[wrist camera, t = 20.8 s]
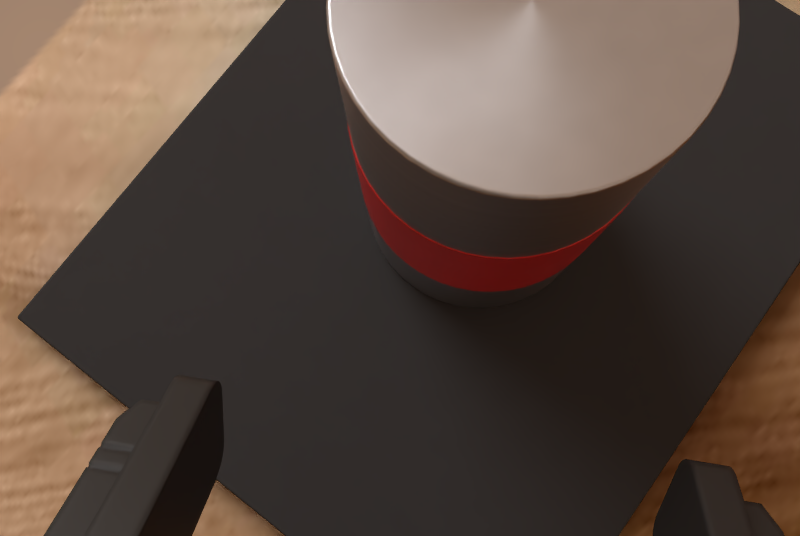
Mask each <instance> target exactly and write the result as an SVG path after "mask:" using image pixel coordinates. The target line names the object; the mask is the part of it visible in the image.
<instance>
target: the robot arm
mask: <svg viewBox="0 0 800 536" xmlns="http://www.w3.org/2000/svg"><path fill="white" fill-rule="evenodd" d="M223 451H224V423H223V400H222V386H221V383H220V382H219V381H215V380H209V379H202V378H196V377H190V376H184V375H177V376H175V377H174V378H173V380H172V381H171V383H170V385H169V387H168V388H167V390H166V392H165V394H164V395H163V397H162V399H161V401H160V402H155V401H149V400H143V399H141V400H140V401H138V402H137V403H136V404H134V405H133V406H132V407H131V408H129V409H128V410H127V411H125V412H124V413H123V414H122V415H120V416H119V417H118V418H117V419H116V420H115V422H114V423H113V425H112V427H111V428H110V430H109V431H108V433H107V435H106V436H105V438H104V439H103V441H102V445H101V447H99V448H98V449H97V451H96V452H95V454H94V456H93V457H92V459H91V460H90V462H89V467H88V468H87V467H86V468H85V470H84V472H83V473H82V475H81V477H80V478H79V480H78V481H77V483H76V485H75V486H74V488H73V489H72V491H71V493H70V494H69V496H68V497H67V499H66V501H65V502H64V504H63V506H62V507H61V509H60V510H59V512H58V514H57V515H56V517H55V518H54V520H53V522H52V523H51V525H50V526H49V528H48V530H47V531H46V533H45V534H44V536H192V534H193V532H194V530H195V527H196V525H197V523H198V520H199V518H200V516H201V513H202V511H203V509H204V506H205V504H206V502H207V499H208V497H209V495H210V492H211V490H212V487H213V485H214V483H215V480H216V478H217V475H218V473H219V469H220V466H221V462H222V457H223ZM653 536H784V534H783V531H782V530H781V529H780V528H779V526H778V525H777V524H776V522H775V521H774V520H773V519H772V517H771V516H770V515H769V513H768V512H767V511H766V510H765V508H764V507H763V506H762V504H759V503H753V502H747V501H744V499H743V496H742V493H741V490H740V486H739V483H738V480H737V477H736V474H735V472H734V470H733V469H732V468H731V467H729V466H724V465H718V464H711V463H705V462H699V461H693V460H687V459H684V460H683V461H681V463H680V464H679V466H678V468H677V470H676V473H675V475H674V477H673V479H672V482H671V484H670V486H669V489H668V491H667V493H666V495H665V498H664V500H663V502H662V504H661V507H660V509H659V511H658V513H657V516H656V519H655V523H654V529H653Z"/></svg>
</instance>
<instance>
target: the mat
mask: <svg viewBox="0 0 800 536" xmlns="http://www.w3.org/2000/svg"><path fill="white" fill-rule="evenodd" d="M326 2H327V0H285V2H284V3H283V4H282V5H281V6H280V8H279V9H278V10H277V11H276V12H275V13H274V15H273V16H272V17H271V18H270V19H269V21H268V22H267V23H266V24H265V25H264V26H263V28H262V29H261V30H260V31H259V32H258V34H257V35H256V36H255V37H254V38H253V39H252V41H251V42H250V43H249V44H248V45H247V47H246V48H245V49H244V50H243V51H242V52H241V54H240V55H239V56H238V57H237V58H236V60H235V61H234V62H233V63H232V64H231V65H230V67H229V68H228V69H227V70H226V71H225V72H224V74H223V75H222V76H221V77H220V78H219V80H218V81H217V82H216V83H215V84H214V85H213V87H212V88H211V89H210V90H209V91H208V93H207V94H206V95H205V96H204V97H203V98H202V100H201V101H200V102H199V103H198V104H197V106H196V107H195V108H194V109H193V110H192V111H191V113H190V114H189V115H188V116H187V117H186V119H185V120H184V121H183V122H182V123H181V124H180V126H179V127H178V128H177V129H176V130H175V131H174V133H173V134H172V135H171V136H170V137H169V139H168V140H167V141H166V142H165V143H164V144H163V146H162V147H161V148H160V149H159V150H158V152H157V153H156V154H155V155H154V156H153V157H152V159H151V160H150V161H149V162H148V163H147V165H146V166H145V167H144V168H143V169H142V170H141V172H140V173H139V174H138V175H137V176H136V178H135V179H134V180H133V181H132V182H131V183H130V185H129V186H128V187H127V188H126V189H125V191H124V192H123V193H122V194H121V195H120V196H119V198H118V199H117V200H116V201H115V202H114V203H113V205H112V206H111V207H110V208H109V209H108V211H107V212H106V213H105V214H104V215H103V216H102V218H101V219H100V220H99V221H98V222H97V224H96V225H95V226H94V227H93V228H92V229H91V231H90V232H89V233H88V234H87V235H86V237H85V238H84V239H83V240H82V241H81V242H80V244H79V245H78V246H77V247H76V248H75V250H74V251H73V252H72V253H71V254H70V255H69V257H68V258H67V259H66V260H65V261H64V262H63V264H62V265H61V266H60V267H59V268H58V270H57V271H56V272H55V273H54V274H53V275H52V277H51V278H50V279H49V280H48V281H47V283H46V284H45V285H44V286H43V287H42V288H41V290H40V291H39V292H38V293H37V294H36V296H35V297H34V298H33V299H32V300H31V301H30V303H29V304H28V305H27V306H26V307H25V309H24V310H23V311H22V312H21V313H20V314H19V316H18V319H19V320H20V321H22V322H23V323H24V324H25V325H27V326H28V327H29V328H30V329H32V330H33V331H34V332H35V333H36V334H38V335H39V336H40V337H41V338H43V339H44V340H45V341H46V342H48V343H49V344H50V345H51V346H52V347H54V348H55V349H56V350H57V351H59V352H60V353H61V354H62V355H64V356H65V357H66V358H67V359H68V360H70V361H71V362H72V363H73V364H75V365H76V366H77V367H78V368H80V369H81V370H82V371H83V372H85V373H86V374H87V375H88V376H89V377H91V378H92V379H93V380H94V381H96V382H97V383H98V384H99V385H101V386H102V387H103V388H104V389H105V390H107V391H108V392H109V393H110V394H112V395H113V396H114V397H115V398H117V399H118V400H119V401H120V402H121V403H123V404H124V405H125V406H126V407H128V408H131V407H132V406H133V405H134V404H136V403H137V402H138V401H140V400H141V399H143V400H149V401H155V402H160V401H161V399H162V397H163V395H164V394H165V392H166V390H167V388H168V387H169V385H170V383H171V381H172V380H173V378H174V377H175V376H177V375H184V376H190V377H196V378H202V379H209V380H215V381H219V382H220V383H221V386H222V400H223V423H224V451H223V457H222V462H221V466H220V469H219V473H218V475H217V478H216V480H218V481H219V482H220V483H221V484H223V485H224V486H225V487H226V488H227V489H229V490H230V491H231V492H232V493H234V494H235V495H236V496H237V497H239V498H240V499H241V500H242V501H243V502H245V503H246V504H247V505H248V506H250V507H251V508H252V509H253V510H255V511H256V512H257V513H258V514H259V515H261V516H262V517H263V518H264V519H266V520H267V521H268V522H269V523H271V524H272V525H273V526H274V527H276V528H277V529H278V530H279V531H280V532H282V533H283V534H284V535H285V536H619V534H620V533H621V531H622V530H623V528H624V527H625V525H626V524H627V522H628V521H629V519H630V518H631V516H632V515H633V513H634V512H635V510H636V509H637V507H638V506H639V504H640V503H641V501H642V500H643V498H644V497H645V495H646V494H647V492H648V491H649V489H650V488H651V486H652V485H653V483H654V482H655V480H656V479H657V477H658V476H659V474H660V472H661V471H662V469H663V468H664V466H665V465H666V463H667V462H668V460H669V459H670V457H671V456H672V454H673V453H674V451H675V450H676V448H677V447H678V445H679V444H680V442H681V441H682V439H683V438H684V436H685V435H686V433H687V432H688V430H689V429H690V427H691V426H692V424H693V423H694V421H695V420H696V418H697V417H698V415H699V414H700V412H701V411H702V409H703V408H704V406H705V405H706V403H707V402H708V400H709V399H710V397H711V396H712V394H713V393H714V391H715V390H716V388H717V387H718V385H719V383H720V382H721V380H722V379H723V377H724V376H725V374H726V373H727V371H728V370H729V368H730V367H731V365H732V364H733V362H734V361H735V359H736V358H737V356H738V355H739V353H740V352H741V350H742V349H743V347H744V346H745V344H746V343H747V341H748V340H749V338H750V337H751V335H752V334H753V332H754V331H755V329H756V328H757V326H758V325H759V323H760V322H761V320H762V319H763V317H764V316H765V314H766V313H767V311H768V310H769V308H770V307H771V305H772V304H773V302H774V301H775V299H776V298H777V296H778V294H779V293H780V291H781V290H782V288H783V287H784V285H785V284H786V282H787V281H788V279H789V278H790V276H791V275H792V273H793V272H794V270H795V269H796V267H797V266H798V264H799V263H800V16H799V15H798V14H796V13H794V12H793V11H791V10H789V9H788V8H786V7H785V6H783V5H781V4H780V3H778V2H776V1H775V0H739V16H740V26H739V35H738V44H737V50H736V54H735V58H734V62H733V66H732V70H731V73H730V75H729V78H728V80H727V83H726V85H725V87H724V90H723V92H722V94H721V96H720V98H719V100H718V101H717V103H716V105H715V106H714V108H713V110H712V111H711V113H710V114H709V116H708V118H707V119H706V120H705V121H704V123H703V124H702V125H701V126H700V127H699V129H698V130H697V131H696V132H695V133H694V135H693V136H692V137H691V138H690V139H689V140H688V141H687V142H686V143H685V145H684V146H683V147H682V148H681V149H680V150H679V151H678V152H677V153H676V154H675V155H674V156H673V157H672V158H671V159H670V160H669V161H668V162H667V163H666V164H665V165H664V166H663V167H662V168H661V170H660V171H659V172H658V173H657V174H656V175H655V176H654V177H653V178H652V179H651V180H650V181H649V182H648V183H647V184H646V185H645V186H644V187H643V188H642V189H641V190H640V191H639V192H638V193H637V195H636V196H635V197H634V198H633V199H632V201H631V202H630V203H629V204H628V205H627V207H626V208H625V209H624V210H623V211H622V212H621V214H620V215H619V216H618V217H617V218H616V219H615V220H614V221H613V222H612V223H611V224H610V225H609V226H608V227H607V228H606V229H605V230H604V231H603V232H602V233H601V234H600V235H599V236H598V237H597V238H596V239H595V240H594V241H593V242H592V243H591V244H590V245H589V246H588V247H587V249H586V250H585V251H584V252H583V253H582V254H581V255H579V256H578V257H577V258H576V259H575V260H574V261H573V262H572V263H571V264H569V265H568V266H567V267H566V268H565V270H564V271H563V272H562V273H561V274H560V275H559V276H558V277H556V278H555V279H554V280H553V281H552V282H551V283H550V284H549V285H547V286H546V287H544V288H543V289H541V290H540V291H538V292H537V293H535V294H533V295H531V296H529V297H527V298H525V299H523V300H520V301H517V302H514V303H511V304H507V305H503V306H498V307H488V308H470V307H462V306H457V305H451V304H448V303H445V302H442V301H439V300H436V299H434V298H432V297H430V296H428V295H426V294H424V293H422V292H421V291H419V290H418V289H416V288H414V287H413V286H412V285H410V284H409V283H408V282H407V281H406V280H404V279H403V278H402V277H401V276H400V275H399V274H398V273H397V272H396V271H395V270H394V268H393V267H392V266H391V265H390V263H389V262H388V261H387V259H386V258H385V256H384V255H383V253H382V251H381V249H380V247H379V245H378V243H377V241H376V239H375V236H374V233H373V230H372V227H371V222H370V218H369V213H368V210H367V207H366V204H365V201H364V197H363V193H362V189H361V185H360V180H359V176H358V172H357V167H356V163H355V159H354V155H353V150H352V146H351V141H350V136H349V131H348V122H347V117H346V113H345V108H344V104H343V100H342V95H341V91H340V87H339V82H338V78H337V74H336V69H335V65H334V60H333V56H332V51H331V46H330V42H329V37H328V32H327V15H326Z"/></svg>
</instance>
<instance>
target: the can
mask: <svg viewBox="0 0 800 536" xmlns="http://www.w3.org/2000/svg"><path fill="white" fill-rule="evenodd" d="M326 15H327V32H328V37H329V42H330V46H331V51H332V56H333V60H334V65H335V69H336V74H337V78H338V82H339V87H340V91H341V95H342V100H343V104H344V108H345V113H346V117H347V122H348V131H349V136H350V141H351V146H352V150H353V155H354V159H355V163H356V167H357V172H358V176H359V180H360V185H361V189H362V193H363V197H364V201H365V204H366V207H367V210H368V213H369V218H370V222H371V227H372V230H373V233H374V236H375V239H376V241H377V243H378V245H379V247H380V249H381V251H382V253H383V255H384V256H385V258H386V259H387V261H388V262H389V263H390V265H391V266H392V267H393V268H394V270H395V271H396V272H397V273H398V274H399V275H400V276H401V277H402V278H403V279H404V280H406V281H407V282H408V283H409V284H410V285H412V286H413V287H414V288H416V289H418V290H419V291H421V292H422V293H424V294H426V295H428V296H430V297H432V298H434V299H436V300H439V301H442V302H445V303H448V304H451V305H457V306H462V307H470V308H488V307H498V306H503V305H507V304H511V303H514V302H517V301H520V300H523V299H525V298H527V297H529V296H531V295H533V294H535V293H537V292H538V291H540V290H541V289H543V288H544V287H546V286H547V285H549V284H550V283H551V282H552V281H553V280H554V279H555V278H556V277H558V276H559V275H560V274H561V273H562V272H563V271H564V270H565V268H566V267H567V266H568V265H569V264H571V263H572V262H573V261H574V260H575V259H576V258H577V257H578V256H579V255H581V254H582V253H583V252H584V251H585V250H586V249H587V247H588V246H589V245H590V244H591V243H592V242H593V241H594V240H595V239H596V238H597V237H598V236H599V235H600V234H601V233H602V232H603V231H604V230H605V229H606V228H607V227H608V226H609V225H610V224H611V223H612V222H613V221H614V220H615V219H616V218H617V217H618V216H619V215H620V214H621V212H622V211H623V210H624V209H625V208H626V207H627V205H628V204H629V203H630V202H631V201H632V199H633V198H634V197H635V196H636V195H637V193H638V192H639V191H640V190H641V189H642V188H643V187H644V186H645V185H646V184H647V183H648V182H649V181H650V180H651V179H652V178H653V177H654V176H655V175H656V174H657V173H658V172H659V171H660V170H661V168H662V167H663V166H664V165H665V164H666V163H667V162H668V161H669V160H670V159H671V158H672V157H673V156H674V155H675V154H676V153H677V152H678V151H679V150H680V149H681V148H682V147H683V146H684V145H685V143H686V142H687V141H688V140H689V139H690V138H691V137H692V136H693V135H694V133H695V132H696V131H697V130H698V129H699V127H700V126H701V125H702V124H703V123H704V121H705V120H706V119H707V118H708V116H709V114H710V113H711V111H712V110H713V108H714V106H715V105H716V103H717V101H718V100H719V98H720V96H721V94H722V92H723V90H724V87H725V85H726V83H727V80H728V78H729V75H730V73H731V70H732V66H733V62H734V58H735V54H736V50H737V44H738V35H739V26H740V16H739V0H327V2H326Z"/></svg>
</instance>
